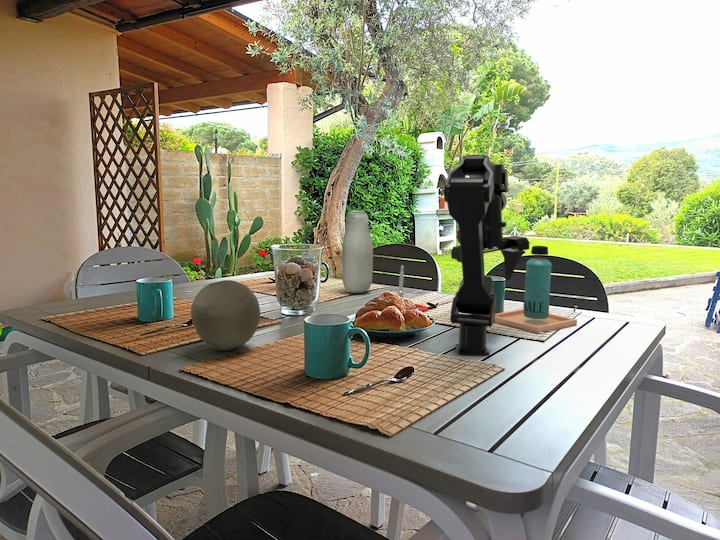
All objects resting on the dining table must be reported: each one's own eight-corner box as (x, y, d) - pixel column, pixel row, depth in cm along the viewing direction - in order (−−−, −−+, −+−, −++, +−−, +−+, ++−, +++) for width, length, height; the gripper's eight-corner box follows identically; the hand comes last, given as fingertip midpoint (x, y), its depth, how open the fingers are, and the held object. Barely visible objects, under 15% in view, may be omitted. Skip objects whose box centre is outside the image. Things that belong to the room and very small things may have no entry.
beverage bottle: (542, 319, 139) (547, 244, 137) (553, 325, 133) (557, 247, 130) (518, 319, 139) (522, 244, 136) (528, 325, 132) (532, 247, 130)
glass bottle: (358, 289, 184) (359, 209, 180) (377, 293, 176) (378, 210, 172) (336, 292, 178) (336, 209, 174) (355, 296, 170) (355, 210, 166)
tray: (537, 334, 126) (538, 328, 126) (487, 320, 139) (487, 315, 139) (576, 325, 135) (577, 319, 135) (525, 313, 148) (525, 308, 148)
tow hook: (431, 309, 154) (402, 305, 158) (434, 266, 152) (404, 263, 156) (422, 316, 147) (391, 311, 150) (425, 270, 144) (394, 267, 148)
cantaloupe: (190, 344, 115) (188, 277, 113) (255, 339, 120) (253, 274, 118) (194, 364, 102) (191, 288, 100) (266, 357, 107) (265, 284, 105)
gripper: (499, 211, 132) (502, 271, 136) (436, 221, 125) (440, 284, 129) (530, 214, 122) (531, 278, 125) (463, 225, 115) (466, 293, 119)
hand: (492, 283), depth 125 cm, fingers open, 9 cm apart
